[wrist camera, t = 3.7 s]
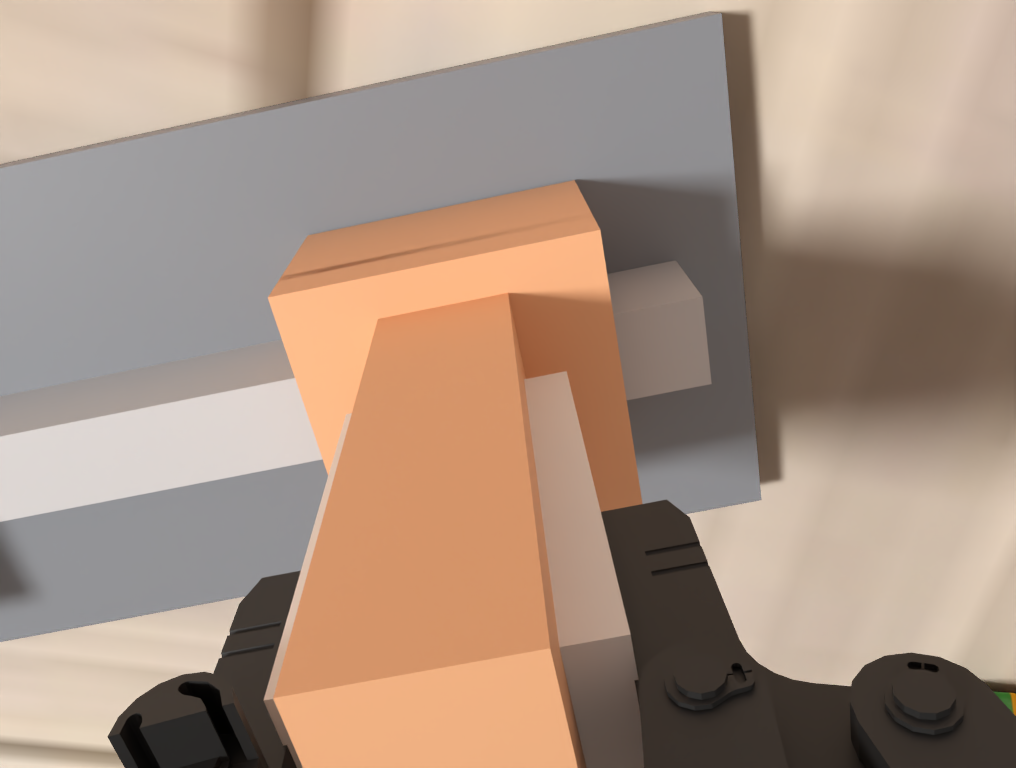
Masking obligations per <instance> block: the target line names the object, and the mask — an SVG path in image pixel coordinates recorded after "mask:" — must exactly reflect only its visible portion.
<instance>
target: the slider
mask: <svg viewBox="0 0 1016 768" xmlns="http://www.w3.org/2000/svg"><path fill="white" fill-rule="evenodd" d="M268 300H269V303H270V306H271V309H272V312H273V315H274V318H275V321H276V324H277V327H278V329H279V332H280V335H281V338H282V341H283V344H284V347H285V350H286V353H287V356H288V359H289V362H290V365H291V368H292V371H293V374H294V377H295V379H296V382H297V385H298V388H299V391H300V394H301V397H302V400H303V403H304V406H305V409H306V412H307V415H308V418H309V421H310V424H311V427H312V429H313V432H314V435H315V438H316V441H317V444H318V447H319V450H320V453H321V456H322V459H323V462H324V465H325V468H326V471H327V474H328V475H329V472H330V468H331V465H332V461H333V458H334V454H335V451H336V447H337V444H338V440H339V437H340V433H341V430H342V427H343V423H344V420H345V416H346V414H350V413H352V414H351V418H350V422H349V425H348V429H347V433H346V436H345V440H344V443H343V447H342V451H341V454H340V458H339V461H338V465H337V469H336V472H335V476H334V480H333V483H332V487H331V490H330V494H329V498H328V501H327V505H326V509H325V512H324V516H323V519H322V523H321V527H320V530H319V534H318V537H317V541H316V545H315V548H314V552H313V556H312V559H311V563H310V566H309V570H308V574H307V577H306V581H305V584H304V588H303V592H302V595H301V599H300V603H299V606H298V610H297V613H296V617H295V621H294V624H293V628H292V632H291V635H290V639H289V642H288V646H287V650H286V653H285V657H284V660H283V664H282V668H281V671H280V675H279V679H278V682H277V686H276V689H275V693H274V697H273V699H274V702H275V704H276V706H277V709H278V711H279V713H280V716H281V718H282V720H283V723H284V725H285V727H286V729H287V732H288V734H289V736H290V739H291V741H292V743H293V746H294V748H295V750H296V753H297V755H298V757H299V760H300V762H301V764H302V767H303V768H586V763H585V759H584V754H583V750H582V745H581V741H580V736H579V732H578V727H577V723H576V719H575V714H574V710H573V705H572V701H571V696H570V692H569V687H568V683H567V678H566V674H565V670H564V665H563V661H562V656H561V652H560V647H559V640H558V632H557V625H556V617H555V610H554V602H553V595H552V587H551V580H550V572H549V564H548V557H547V549H546V542H545V534H544V527H543V519H542V512H541V504H540V497H539V489H538V482H537V474H536V466H535V459H534V451H533V444H532V436H531V429H530V421H529V414H528V406H527V399H526V391H525V384H524V379H528V378H534V377H539V376H544V375H549V374H554V373H559V372H564V371H567V375H568V379H569V383H570V387H571V392H572V396H573V400H574V404H575V408H576V412H577V416H578V420H579V424H580V429H581V433H582V437H583V441H584V445H585V449H586V453H587V457H588V461H589V466H590V470H591V474H592V478H593V482H594V486H595V490H596V494H597V498H598V503H599V507H600V511H601V512H603V511H608V510H613V509H619V508H624V507H629V506H635V505H640V504H643V503H642V497H641V490H640V484H639V477H638V471H637V464H636V458H635V451H634V445H633V438H632V432H631V426H630V419H629V413H628V406H627V400H626V393H625V387H624V380H623V374H622V367H621V361H620V354H619V348H618V341H617V335H616V328H615V322H614V315H613V309H612V302H611V296H610V289H609V283H608V276H607V270H606V263H605V257H604V250H603V244H602V237H601V231H600V228H599V226H598V224H597V222H596V220H595V219H594V217H593V215H592V213H591V211H590V209H589V207H588V205H587V203H586V201H585V199H584V197H583V195H582V194H581V192H580V190H579V188H578V186H577V184H576V182H575V180H573V181H568V182H563V183H558V184H553V185H548V186H544V187H539V188H534V189H529V190H524V191H519V192H515V193H510V194H505V195H500V196H495V197H491V198H486V199H481V200H476V201H471V202H466V203H462V204H457V205H452V206H447V207H442V208H437V209H433V210H428V211H423V212H418V213H413V214H408V215H404V216H399V217H394V218H389V219H384V220H380V221H375V222H370V223H365V224H360V225H355V226H351V227H346V228H341V229H336V230H331V231H326V232H322V233H317V234H312V235H308V236H307V237H306V239H305V240H304V242H303V244H302V245H301V247H300V248H299V250H298V251H297V253H296V254H295V256H294V257H293V259H292V261H291V262H290V264H289V265H288V267H287V268H286V270H285V271H284V273H283V275H282V276H281V278H280V279H279V281H278V282H277V284H276V285H275V287H274V289H273V290H272V292H271V293H270V295H269V296H268Z"/></svg>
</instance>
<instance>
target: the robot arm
mask: <svg viewBox="0 0 1016 768" xmlns="http://www.w3.org/2000/svg"><path fill="white" fill-rule="evenodd" d="M524 384H525V391H526V399H527V406H528V414H529V421H530V429H531V436H532V444H533V451H534V459H535V466H536V474H537V482H538V489H539V497H540V504H541V512H542V519H543V527H544V534H545V542H546V549H547V557H548V564H549V572H550V580H551V587H552V595H553V602H554V610H555V617H556V625H557V632H558V640H559V647H560V652H561V656H562V661H563V665H564V670H565V674H566V678H567V683H568V687H569V692H570V696H571V701H572V705H573V710H574V714H575V719H576V723H577V727H578V732H579V736H580V741H581V745H582V750H583V754H584V759H585V763H586V768H1016V716H1015V715H1014V714H1013V713H1012V711H1011V710H1010V709H1009V708H1008V707H1007V706H1006V705H1005V704H1004V703H1003V702H1002V701H1001V699H1000V698H999V697H998V696H997V695H996V694H995V693H994V692H993V691H992V690H991V689H990V687H989V686H988V685H987V684H985V683H984V682H983V681H981V680H980V679H979V678H978V677H976V676H975V675H974V674H973V673H971V672H970V671H969V670H968V669H966V668H964V667H962V666H959V665H957V664H955V663H952V662H950V661H948V660H945V659H943V658H940V657H936V656H929V655H923V654H916V653H905V654H896V655H887V656H884V657H882V658H879V659H877V660H875V661H873V662H871V663H869V664H867V665H865V666H864V667H863V668H862V669H861V671H860V672H859V673H858V674H857V676H856V677H855V678H854V679H853V681H852V686H839V685H828V684H816V683H809V682H803V681H797V680H792V679H789V678H787V677H784V676H781V675H778V674H776V673H773V672H772V671H770V670H768V669H767V668H765V667H763V666H762V665H760V664H759V663H757V662H756V661H755V660H754V659H753V658H752V657H751V656H750V655H749V654H748V653H747V652H746V650H745V648H744V647H743V645H742V643H741V642H740V640H739V638H738V635H737V633H736V630H735V628H734V626H733V623H732V621H731V618H730V616H729V613H728V611H727V608H726V606H725V603H724V601H723V598H722V596H721V594H720V591H719V589H718V586H717V584H716V581H715V579H714V576H713V574H712V571H711V569H710V566H708V562H707V559H706V557H705V554H704V552H703V549H702V547H701V546H700V543H699V539H698V537H697V534H696V532H695V530H694V527H693V525H692V522H691V520H690V517H688V516H687V515H686V514H685V513H683V512H682V511H681V510H680V509H678V508H677V507H676V506H674V505H673V504H672V503H671V502H669V501H668V500H661V501H656V502H651V503H645V504H640V505H635V506H629V507H624V508H619V509H613V510H608V511H603V512H601V511H600V507H599V503H598V498H597V494H596V490H595V486H594V482H593V478H592V474H591V470H590V466H589V461H588V457H587V453H586V449H585V445H584V441H583V437H582V433H581V429H580V424H579V420H578V416H577V412H576V408H575V404H574V400H573V396H572V392H571V387H570V383H569V379H568V375H567V371H564V372H559V373H554V374H549V375H544V376H539V377H534V378H528V379H524ZM351 414H352V413H350V414H346V416H345V420H344V423H343V427H342V430H341V433H340V437H339V440H338V444H337V447H336V451H335V454H334V458H333V461H332V465H331V468H330V472H329V475H328V479H327V482H326V485H325V489H324V492H323V496H322V499H321V503H320V506H319V510H318V513H317V517H316V520H315V524H314V527H313V531H312V534H311V537H310V541H309V544H308V548H307V551H306V555H305V558H304V562H303V565H302V569H301V571H296V572H291V573H285V574H280V575H275V576H269V577H264V578H261V579H260V581H259V582H258V583H257V584H256V585H255V586H254V588H253V589H252V590H251V591H250V592H249V593H248V594H247V596H246V597H245V598H244V599H243V600H242V601H241V603H240V604H239V606H238V609H237V612H236V615H235V617H234V620H233V623H232V625H231V628H230V636H227V639H226V641H225V644H224V647H223V649H222V652H221V654H222V658H220V659H219V660H218V663H217V666H216V668H215V671H214V674H211V673H207V672H200V673H192V674H184V675H181V676H178V677H176V678H173V679H171V680H168V681H166V682H163V683H160V684H158V685H157V686H155V687H154V688H152V689H151V690H149V691H148V692H146V693H145V694H143V695H142V696H140V697H139V698H137V699H136V700H135V701H134V702H133V703H132V704H131V705H130V706H129V707H128V708H127V709H126V710H125V711H124V712H123V713H122V714H121V715H120V716H119V717H118V719H117V721H116V723H115V725H114V726H113V728H112V730H111V732H110V733H109V735H108V738H109V740H110V742H111V744H112V745H113V747H114V749H115V751H116V753H117V754H118V756H119V758H120V760H121V762H122V763H123V765H124V767H125V768H303V767H302V764H301V762H300V760H299V757H298V755H297V753H296V750H295V748H294V746H293V743H292V741H291V739H290V736H289V734H288V732H287V729H286V727H285V725H284V723H283V720H282V718H281V716H280V713H279V711H278V709H277V706H276V704H275V702H274V699H273V697H274V693H275V689H276V686H277V682H278V679H279V675H280V671H281V668H282V664H283V660H284V657H285V653H286V650H287V646H288V642H289V639H290V635H291V632H292V628H293V624H294V621H295V617H296V613H297V610H298V606H299V603H300V599H301V595H302V592H303V588H304V584H305V581H306V577H307V574H308V570H309V566H310V563H311V559H312V556H313V552H314V548H315V545H316V541H317V537H318V534H319V530H320V527H321V523H322V519H323V516H324V512H325V509H326V505H327V501H328V498H329V494H330V490H331V487H332V483H333V480H334V476H335V472H336V469H337V465H338V461H339V458H340V454H341V451H342V447H343V443H344V440H345V436H346V433H347V429H348V425H349V422H350V418H351Z"/></svg>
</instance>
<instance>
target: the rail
mask: <svg viewBox="0 0 1016 768" xmlns="http://www.w3.org/2000/svg"><path fill="white" fill-rule="evenodd" d="M573 180H575V182H576V184H577V186H578V188H579V190H580V192H581V194H582V195H583V197H584V199H585V201H586V203H587V205H588V207H589V209H590V211H591V213H592V215H593V217H594V219H595V220H596V222H597V224H598V226H599V228H600V231H601V237H602V244H603V250H604V257H605V263H606V270H607V276H608V283H609V289H610V296H611V302H612V309H613V315H614V322H615V328H616V335H617V341H618V348H619V354H620V361H621V367H622V374H623V380H624V387H625V393H626V400H627V406H628V413H629V419H630V426H631V432H632V438H633V445H634V451H635V458H636V464H637V471H638V477H639V484H640V490H641V497H642V503H643V504H645V503H651V502H656V501H661V500H668V501H669V502H671V503H672V504H673V505H674V506H676V507H677V508H678V509H680V510H681V511H682V512H683V513H685V514H689V513H694V512H700V511H705V510H710V509H716V508H721V507H726V506H732V505H737V504H742V503H748V502H753V501H759V500H761V490H760V478H759V466H758V453H757V441H756V429H755V417H754V404H753V392H752V380H751V367H750V355H749V343H748V331H747V318H746V306H745V294H744V282H743V269H742V257H741V245H740V232H739V220H738V208H737V196H736V183H735V171H734V159H733V146H732V134H731V122H730V110H729V97H728V85H727V73H726V61H725V48H724V36H723V24H722V13H716V12H705V13H700V14H696V15H691V16H687V17H682V18H677V19H673V20H668V21H663V22H659V23H654V24H649V25H645V26H640V27H635V28H631V29H626V30H621V31H617V32H612V33H608V34H603V35H598V36H594V37H589V38H584V39H580V40H575V41H570V42H566V43H561V44H556V45H552V46H547V47H543V48H538V49H533V50H529V51H524V52H519V53H515V54H510V55H505V56H501V57H496V58H491V59H487V60H482V61H478V62H473V63H468V64H464V65H459V66H454V67H450V68H445V69H440V70H436V71H431V72H426V73H422V74H417V75H412V76H408V77H403V78H399V79H394V80H389V81H385V82H380V83H375V84H371V85H366V86H361V87H357V88H352V89H347V90H343V91H338V92H334V93H329V94H324V95H320V96H315V97H310V98H306V99H301V100H296V101H292V102H287V103H282V104H278V105H273V106H268V107H264V108H259V109H255V110H250V111H245V112H241V113H236V114H231V115H227V116H222V117H217V118H213V119H208V120H203V121H199V122H194V123H190V124H185V125H180V126H176V127H171V128H166V129H162V130H157V131H152V132H148V133H143V134H138V135H134V136H129V137H125V138H120V139H115V140H111V141H106V142H101V143H97V144H92V145H87V146H83V147H78V148H73V149H69V150H64V151H59V152H55V153H50V154H46V155H41V156H36V157H32V158H27V159H22V160H18V161H13V162H8V163H4V164H0V642H3V641H8V640H14V639H19V638H24V637H30V636H35V635H40V634H46V633H51V632H57V631H62V630H67V629H73V628H78V627H83V626H89V625H94V624H99V623H105V622H110V621H115V620H121V619H126V618H132V617H137V616H142V615H148V614H153V613H158V612H164V611H169V610H174V609H180V608H185V607H191V606H196V605H201V604H207V603H212V602H217V601H223V600H228V599H233V598H239V597H244V596H247V594H248V593H249V592H250V591H251V590H252V589H253V588H254V586H255V585H256V584H257V583H258V582H259V581H260V579H261V578H264V577H269V576H275V575H280V574H285V573H291V572H296V571H301V569H302V565H303V562H304V558H305V555H306V551H307V548H308V544H309V541H310V537H311V534H312V531H313V527H314V524H315V520H316V517H317V513H318V510H319V506H320V503H321V499H322V496H323V492H324V489H325V485H326V482H327V479H328V474H327V471H326V468H325V465H324V462H323V459H322V456H321V453H320V450H319V447H318V444H317V441H316V438H315V435H314V432H313V429H312V427H311V424H310V421H309V418H308V415H307V412H306V409H305V406H304V403H303V400H302V397H301V394H300V391H299V388H298V385H297V382H296V379H295V377H294V374H293V371H292V368H291V365H290V362H289V359H288V356H287V353H286V350H285V347H284V344H283V341H282V338H281V335H280V332H279V329H278V327H277V324H276V321H275V318H274V315H273V312H272V309H271V306H270V303H269V300H268V296H269V295H270V293H271V292H272V290H273V289H274V287H275V285H276V284H277V282H278V281H279V279H280V278H281V276H282V275H283V273H284V271H285V270H286V268H287V267H288V265H289V264H290V262H291V261H292V259H293V257H294V256H295V254H296V253H297V251H298V250H299V248H300V247H301V245H302V244H303V242H304V240H305V239H306V237H307V236H308V235H312V234H317V233H322V232H326V231H331V230H336V229H341V228H346V227H351V226H355V225H360V224H365V223H370V222H375V221H380V220H384V219H389V218H394V217H399V216H404V215H408V214H413V213H418V212H423V211H428V210H433V209H437V208H442V207H447V206H452V205H457V204H462V203H466V202H471V201H476V200H481V199H486V198H491V197H495V196H500V195H505V194H510V193H515V192H519V191H524V190H529V189H534V188H539V187H544V186H548V185H553V184H558V183H563V182H568V181H573Z"/></svg>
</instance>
